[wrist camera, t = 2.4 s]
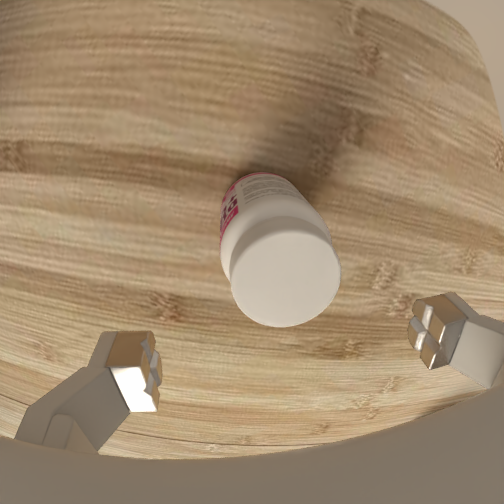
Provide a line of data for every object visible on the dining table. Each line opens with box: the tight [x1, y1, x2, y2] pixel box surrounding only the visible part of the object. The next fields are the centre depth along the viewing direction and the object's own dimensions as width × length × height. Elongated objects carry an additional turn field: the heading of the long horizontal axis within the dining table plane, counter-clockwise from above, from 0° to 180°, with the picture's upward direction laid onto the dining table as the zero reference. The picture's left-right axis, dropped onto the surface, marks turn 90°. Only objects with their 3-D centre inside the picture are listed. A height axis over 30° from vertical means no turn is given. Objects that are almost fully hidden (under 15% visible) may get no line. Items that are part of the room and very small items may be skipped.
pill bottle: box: [220, 172, 341, 327], centre depth 15 cm, size 5×5×8 cm
